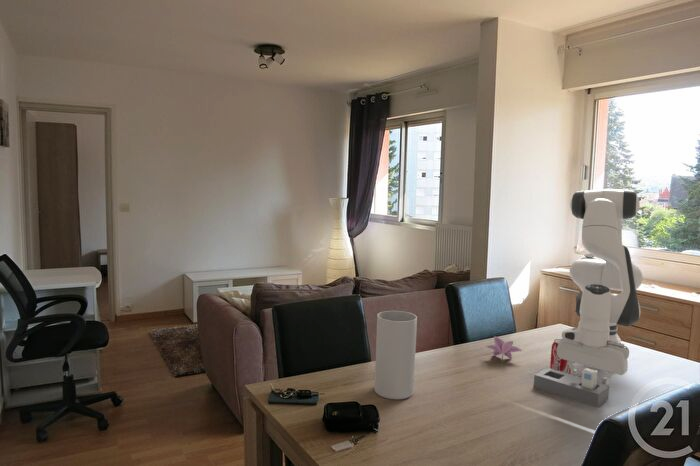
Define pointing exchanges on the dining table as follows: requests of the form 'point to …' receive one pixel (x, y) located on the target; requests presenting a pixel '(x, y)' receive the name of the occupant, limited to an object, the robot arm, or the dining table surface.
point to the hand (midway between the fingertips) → (589, 379)
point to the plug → (589, 378)
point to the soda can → (558, 359)
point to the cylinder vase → (395, 354)
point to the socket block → (570, 387)
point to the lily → (503, 348)
